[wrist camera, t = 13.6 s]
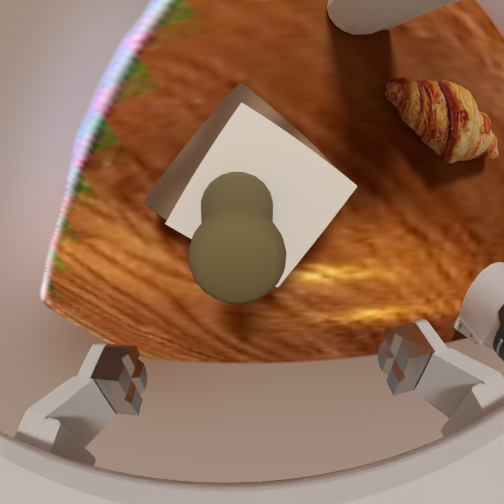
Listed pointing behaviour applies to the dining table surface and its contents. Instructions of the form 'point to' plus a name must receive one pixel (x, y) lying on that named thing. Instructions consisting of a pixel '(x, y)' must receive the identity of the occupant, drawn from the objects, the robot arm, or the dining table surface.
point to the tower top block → (270, 181)
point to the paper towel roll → (378, 13)
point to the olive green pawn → (237, 240)
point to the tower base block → (199, 145)
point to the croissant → (443, 118)
